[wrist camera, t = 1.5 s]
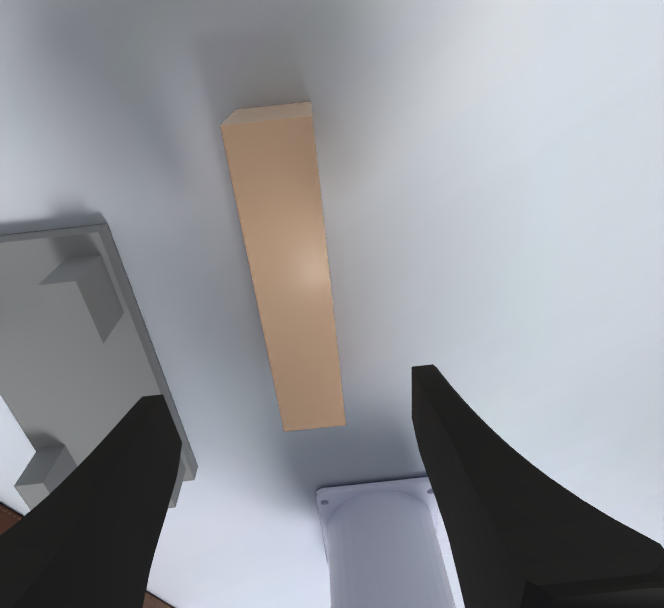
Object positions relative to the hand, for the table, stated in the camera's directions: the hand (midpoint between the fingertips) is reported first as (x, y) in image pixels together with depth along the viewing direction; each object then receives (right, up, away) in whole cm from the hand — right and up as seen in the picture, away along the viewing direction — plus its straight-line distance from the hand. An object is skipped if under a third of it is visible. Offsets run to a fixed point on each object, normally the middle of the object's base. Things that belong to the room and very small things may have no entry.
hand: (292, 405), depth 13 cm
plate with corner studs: (-12, -1, +11) cm, 16 cm away
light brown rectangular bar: (-1, +5, +8) cm, 10 cm away
